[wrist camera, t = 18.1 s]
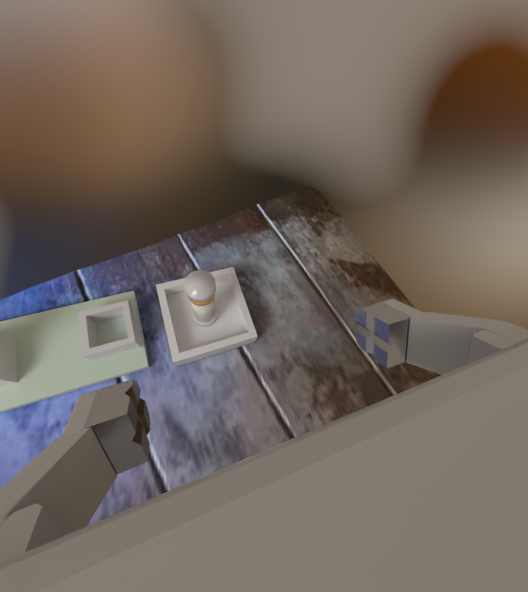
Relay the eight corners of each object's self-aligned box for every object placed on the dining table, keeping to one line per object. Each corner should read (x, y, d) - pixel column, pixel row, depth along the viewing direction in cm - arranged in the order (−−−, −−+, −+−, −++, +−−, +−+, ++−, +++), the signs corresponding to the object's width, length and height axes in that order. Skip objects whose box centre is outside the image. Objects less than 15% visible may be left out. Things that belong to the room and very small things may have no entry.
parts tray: (255, 341, 42) (257, 336, 39) (176, 366, 39) (173, 362, 36) (232, 275, 46) (233, 266, 44) (159, 293, 43) (155, 284, 40)
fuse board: (149, 367, 38) (142, 362, 35) (-41, 425, 33) (-73, 426, 29) (135, 293, 43) (127, 281, 39) (-36, 333, 37) (-64, 324, 33)
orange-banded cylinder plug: (219, 323, 42) (219, 293, 32) (196, 329, 41) (188, 300, 31) (213, 302, 43) (211, 267, 33) (190, 308, 42) (181, 273, 32)
